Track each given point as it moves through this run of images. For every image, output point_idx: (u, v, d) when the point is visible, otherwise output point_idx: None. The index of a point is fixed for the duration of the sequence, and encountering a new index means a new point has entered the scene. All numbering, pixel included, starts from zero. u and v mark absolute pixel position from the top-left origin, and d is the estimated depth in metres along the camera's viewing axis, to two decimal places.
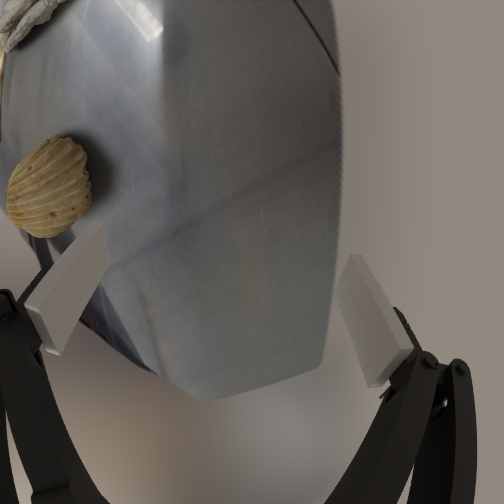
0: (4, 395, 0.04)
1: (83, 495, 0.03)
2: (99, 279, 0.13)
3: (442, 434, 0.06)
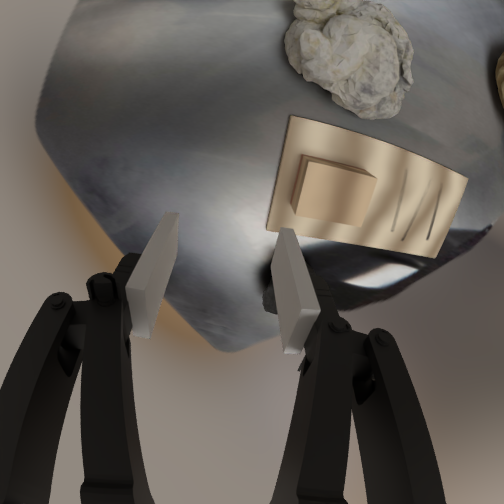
0: (83, 379, 0.06)
1: (140, 496, 0.04)
2: (172, 267, 0.15)
3: (379, 416, 0.07)
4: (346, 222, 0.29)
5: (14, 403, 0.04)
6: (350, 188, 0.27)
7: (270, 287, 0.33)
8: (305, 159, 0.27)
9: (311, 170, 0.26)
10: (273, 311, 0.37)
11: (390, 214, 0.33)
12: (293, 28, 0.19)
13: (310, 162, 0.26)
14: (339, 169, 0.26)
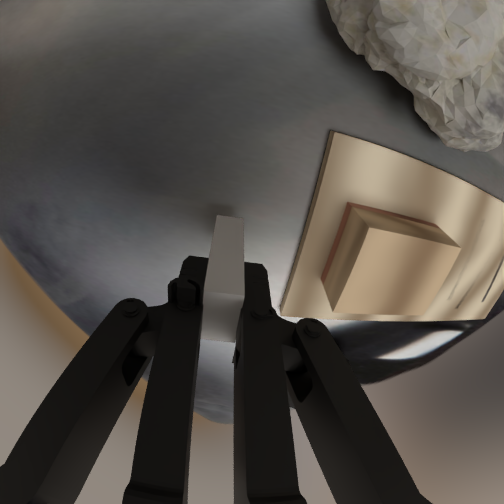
0: (150, 382, 0.06)
1: None
2: None
3: (323, 415, 0.07)
4: (406, 312, 0.17)
5: (64, 409, 0.05)
6: (423, 266, 0.15)
7: None
8: (358, 218, 0.15)
9: (371, 243, 0.14)
10: None
11: (451, 280, 0.20)
12: None
13: (371, 229, 0.13)
14: (414, 239, 0.14)
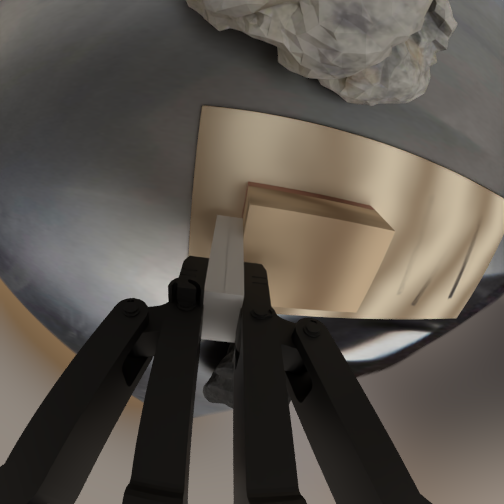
0: (150, 382, 0.06)
1: None
2: None
3: (323, 415, 0.07)
4: (329, 308, 0.16)
5: (64, 409, 0.05)
6: (339, 252, 0.14)
7: (211, 384, 0.20)
8: (248, 196, 0.14)
9: (256, 223, 0.13)
10: None
11: (397, 270, 0.19)
12: None
13: (253, 206, 0.13)
14: (318, 218, 0.13)
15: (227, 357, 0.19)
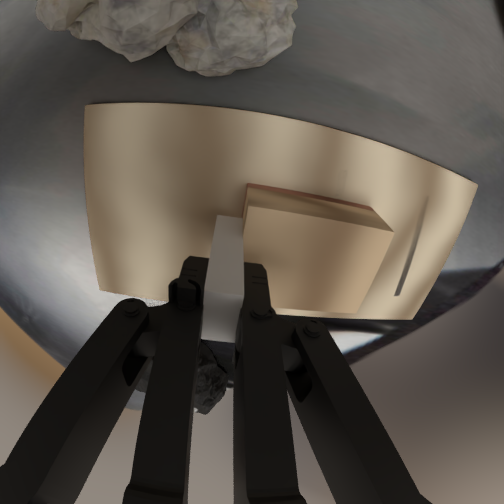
0: (150, 382, 0.06)
1: None
2: None
3: (322, 415, 0.07)
4: (329, 309, 0.16)
5: (64, 409, 0.05)
6: (339, 253, 0.14)
7: None
8: (247, 197, 0.14)
9: (255, 224, 0.13)
10: None
11: None
12: None
13: (252, 208, 0.13)
14: (317, 219, 0.13)
15: None
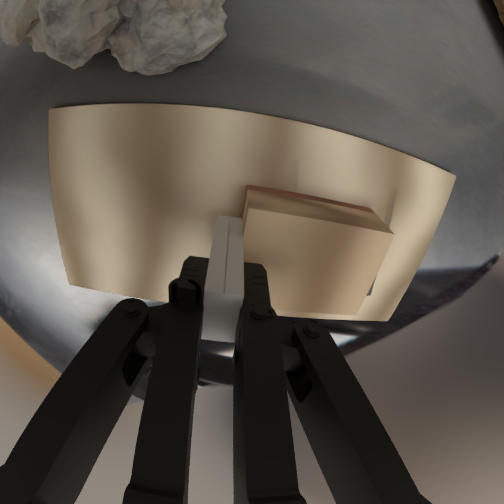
0: (151, 382, 0.06)
1: None
2: None
3: (322, 415, 0.07)
4: (329, 310, 0.16)
5: (64, 409, 0.05)
6: (338, 255, 0.14)
7: None
8: (247, 200, 0.14)
9: (255, 226, 0.13)
10: None
11: None
12: None
13: (252, 210, 0.13)
14: (317, 221, 0.13)
15: None
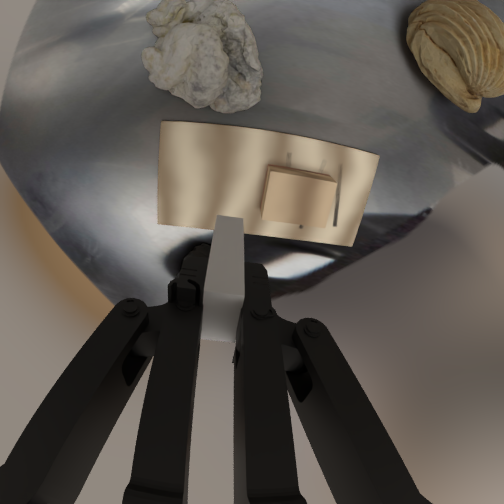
0: (150, 382, 0.06)
1: None
2: None
3: (323, 415, 0.07)
4: (310, 224, 0.33)
5: (64, 409, 0.05)
6: (311, 193, 0.31)
7: None
8: (269, 169, 0.31)
9: (273, 179, 0.30)
10: None
11: None
12: None
13: (272, 172, 0.30)
14: (299, 176, 0.30)
15: (190, 252, 0.35)
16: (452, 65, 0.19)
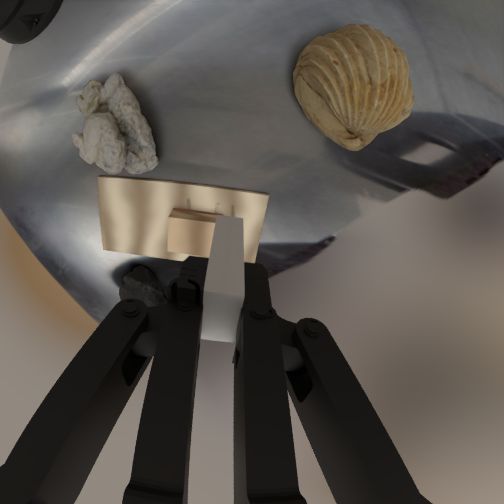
0: (150, 382, 0.06)
1: None
2: None
3: (323, 415, 0.07)
4: (204, 255, 0.43)
5: (63, 410, 0.05)
6: (201, 232, 0.40)
7: (122, 287, 0.46)
8: (170, 214, 0.40)
9: (171, 222, 0.39)
10: None
11: None
12: None
13: (169, 217, 0.39)
14: (190, 220, 0.39)
15: (128, 273, 0.45)
16: (327, 107, 0.28)
